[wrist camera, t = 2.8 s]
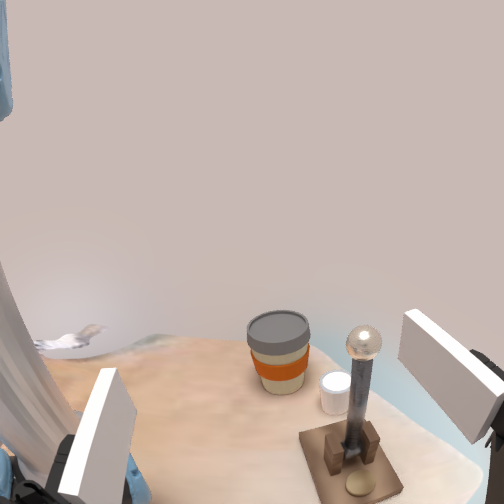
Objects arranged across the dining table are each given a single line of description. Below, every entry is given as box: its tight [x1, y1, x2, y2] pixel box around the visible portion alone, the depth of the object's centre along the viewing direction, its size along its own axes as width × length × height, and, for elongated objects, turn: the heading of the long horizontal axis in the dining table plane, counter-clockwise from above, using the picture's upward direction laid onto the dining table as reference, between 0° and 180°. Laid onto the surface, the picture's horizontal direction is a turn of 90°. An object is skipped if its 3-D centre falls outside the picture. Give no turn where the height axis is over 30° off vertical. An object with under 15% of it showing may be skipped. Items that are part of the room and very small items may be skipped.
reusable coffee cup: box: [247, 310, 310, 395], centre depth 61 cm, size 13×12×15 cm
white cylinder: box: [319, 370, 351, 415], centre depth 52 cm, size 7×7×7 cm
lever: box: [340, 325, 382, 460], centre depth 34 cm, size 4×4×24 cm
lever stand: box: [299, 419, 404, 504], centre depth 37 cm, size 12×18×9 cm, turn 8°
